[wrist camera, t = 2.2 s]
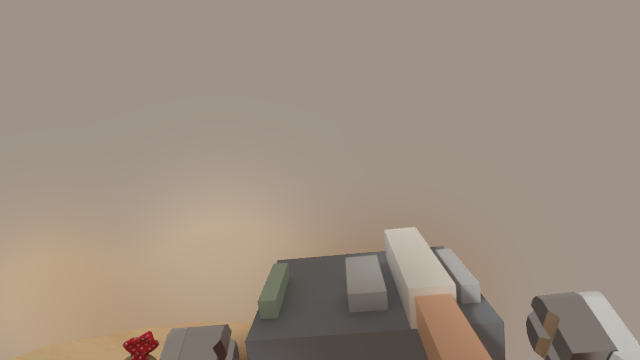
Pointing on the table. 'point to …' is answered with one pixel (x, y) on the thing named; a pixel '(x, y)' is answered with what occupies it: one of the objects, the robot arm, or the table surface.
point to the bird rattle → (141, 347)
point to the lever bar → (430, 298)
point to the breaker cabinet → (355, 311)
